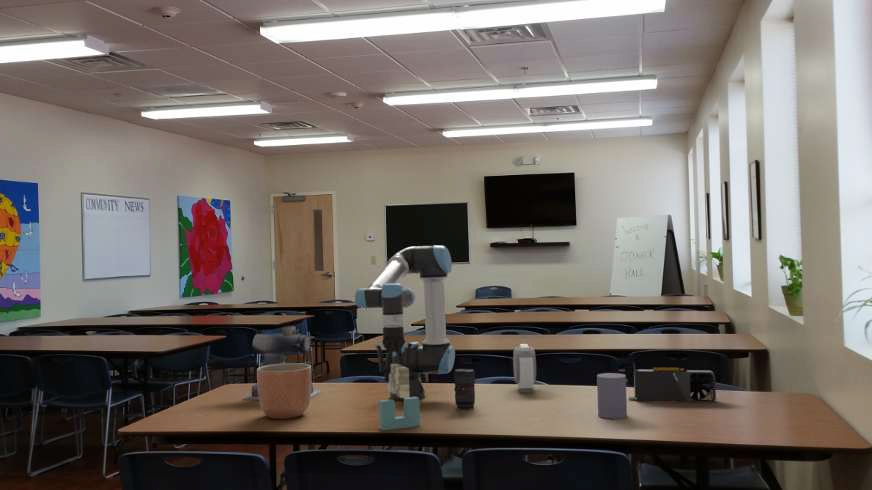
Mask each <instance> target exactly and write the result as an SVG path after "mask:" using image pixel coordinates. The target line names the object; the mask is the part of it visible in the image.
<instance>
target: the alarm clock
mask: <svg viewBox="0 0 872 490" xmlns="http://www.w3.org/2000/svg"><path fill="white" fill-rule="evenodd" d="M512 355H513V357H512V361H513V362H512V364H513V367H512V368H513V376H514V382H515V383H516V384H517V387H518V388H519V389H518V391H519V390H520V391H519V392H520V393H522V394H523V393H525V394H526V393H533V389H534V386H535V382H536V381H537V360H536V351H535V347H534V346H529V345H528V343H520V344H519V346H515V347H513V353H512Z"/></svg>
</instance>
